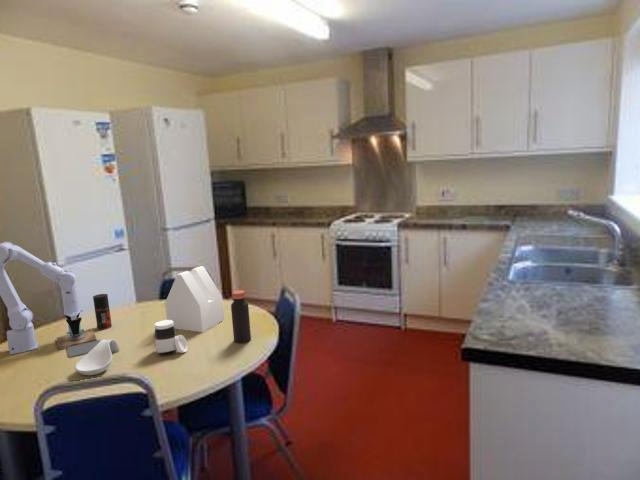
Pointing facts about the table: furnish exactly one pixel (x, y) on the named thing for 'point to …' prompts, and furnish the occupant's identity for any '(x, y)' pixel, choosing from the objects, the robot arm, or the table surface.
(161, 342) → the spread jar
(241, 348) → the table surface
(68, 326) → the teal ovoid with tab
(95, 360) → the spoon rest
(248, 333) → the bottle
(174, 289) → the white peaked block
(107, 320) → the deodorant
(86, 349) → the mat
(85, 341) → the post board
